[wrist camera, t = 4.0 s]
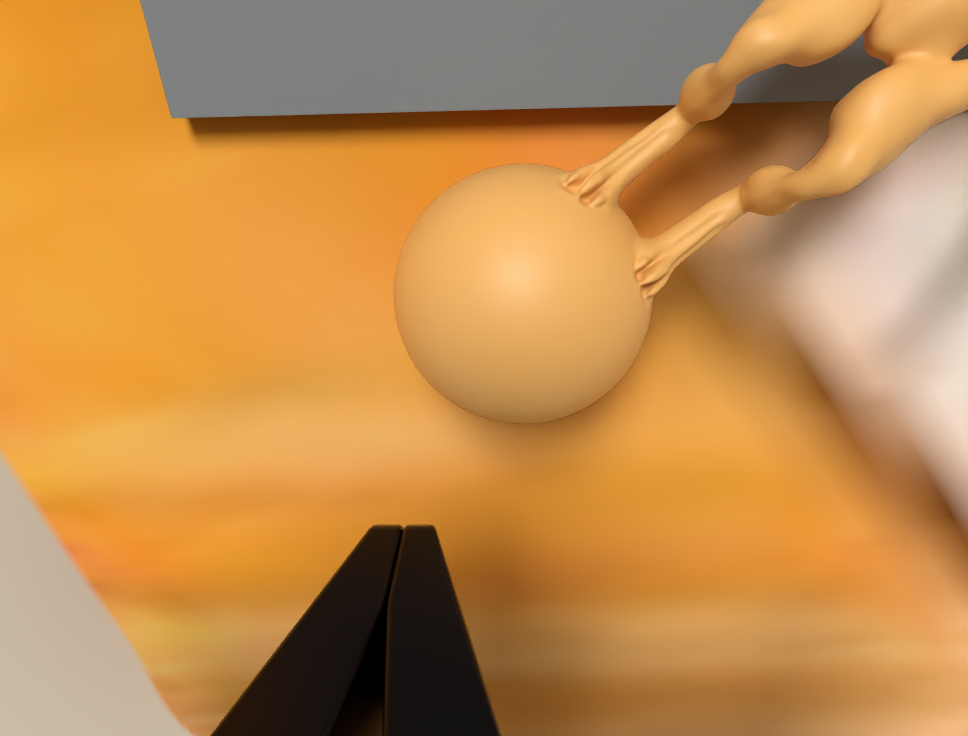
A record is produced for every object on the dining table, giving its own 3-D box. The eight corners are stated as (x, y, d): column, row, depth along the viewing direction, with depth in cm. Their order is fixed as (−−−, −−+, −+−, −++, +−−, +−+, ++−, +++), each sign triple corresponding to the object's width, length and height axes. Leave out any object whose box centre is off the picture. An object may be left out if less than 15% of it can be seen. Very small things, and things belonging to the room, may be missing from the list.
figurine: (199, 181, 11) (1403, -1357, 3) (411, 104, 15) (1100, -596, 8) (539, 610, 12) (2005, 198, 4) (639, 417, 16) (1429, 59, 9)
